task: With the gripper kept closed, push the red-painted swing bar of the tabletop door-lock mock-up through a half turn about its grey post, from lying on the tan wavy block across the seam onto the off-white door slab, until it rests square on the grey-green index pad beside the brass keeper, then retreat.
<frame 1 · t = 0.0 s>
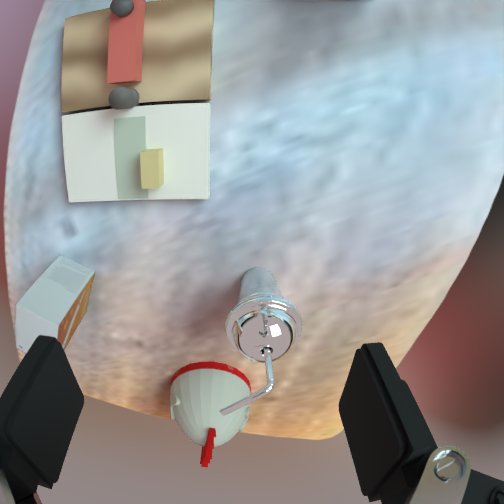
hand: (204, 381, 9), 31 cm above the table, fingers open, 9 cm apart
small box: (74, 283, 43), on the table
drinking straw: (256, 281, 44), on the table
kitchen timer: (210, 387, 53), on the table
tan wavy block: (134, 98, 33), on the table
swing bar: (124, 38, 26), point 4 cm above the table, hinge at 0.0°
door: (129, 154, 34), on the table
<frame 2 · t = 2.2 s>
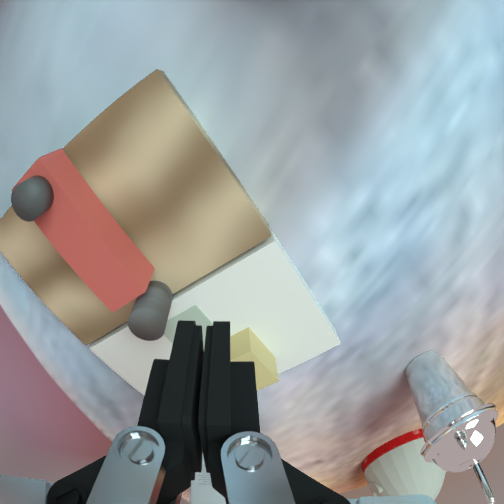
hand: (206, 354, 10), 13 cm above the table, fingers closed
small box: (223, 454, 37), on the table
drinking straw: (420, 365, 31), on the table
kitchen timer: (401, 450, 41), on the table
tan wavy block: (160, 281, 24), on the table
swing bar: (78, 235, 17), point 4 cm above the table, hinge at 0.0°
door: (210, 355, 24), on the table
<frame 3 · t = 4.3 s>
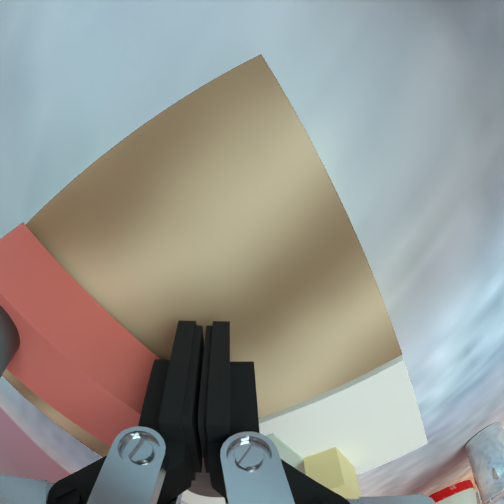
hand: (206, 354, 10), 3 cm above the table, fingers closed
drinking straw: (480, 436, 23), on the table
kitchen timer: (431, 501, 33), on the table
tan wavy block: (216, 396, 15), on the table
swing bar: (81, 383, 9), point 4 cm above the table, hinge at 6.7°, touching gripper
door: (278, 475, 16), on the table
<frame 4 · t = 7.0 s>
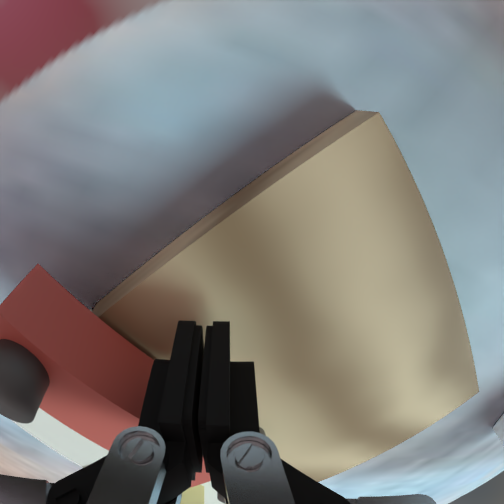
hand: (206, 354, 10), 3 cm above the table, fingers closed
tan wavy block: (239, 409, 16), on the table
swing bar: (111, 412, 9), point 4 cm above the table, hinge at 95.0°, touching gripper
door: (153, 472, 15), on the table
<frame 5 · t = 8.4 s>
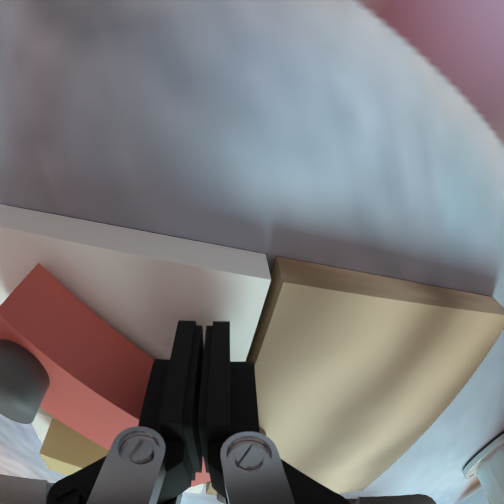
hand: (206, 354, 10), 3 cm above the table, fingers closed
tan wavy block: (240, 408, 16), on the table
swing bar: (111, 412, 9), point 4 cm above the table, hinge at 144.2°, touching gripper
door: (107, 421, 13), on the table
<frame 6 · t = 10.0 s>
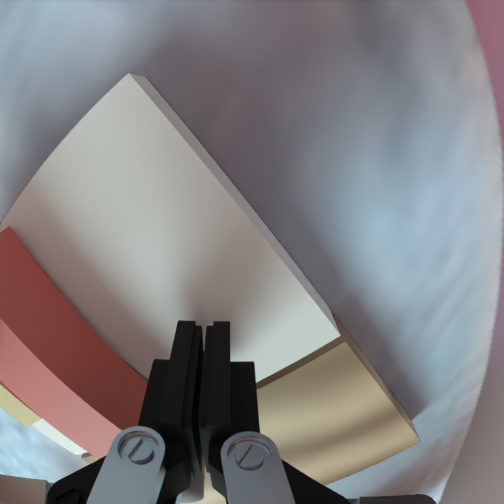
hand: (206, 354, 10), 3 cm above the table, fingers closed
tan wavy block: (184, 405, 15), on the table
swing bar: (55, 385, 9), point 4 cm above the table, hinge at 174.1°
door: (70, 359, 11), on the table
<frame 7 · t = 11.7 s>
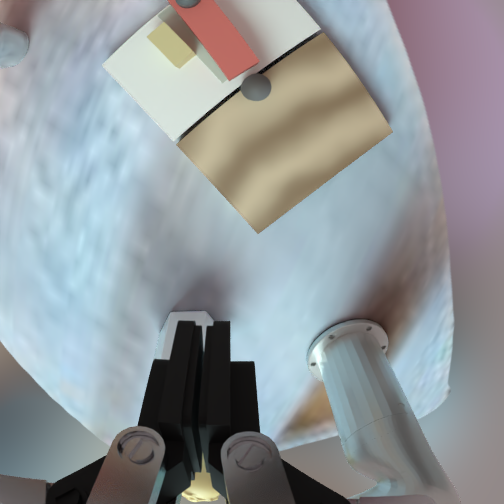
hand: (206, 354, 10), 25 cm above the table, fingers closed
drinking straw: (16, 46, 23), on the table
jar: (191, 332, 42), on the table
tan wavy block: (252, 88, 29), on the table
pale yellow ball: (200, 457, 59), on the table
swing bar: (211, 27, 22), point 4 cm above the table, hinge at 174.1°
door: (208, 38, 24), on the table
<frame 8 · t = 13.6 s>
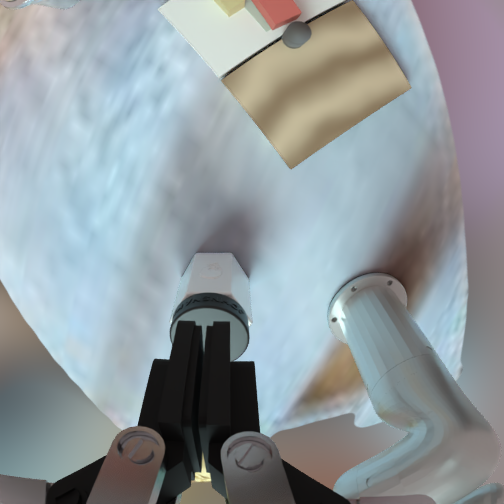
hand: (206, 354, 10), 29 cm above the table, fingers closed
jar: (214, 278, 43), on the table
tan wavy block: (290, 41, 30), on the table
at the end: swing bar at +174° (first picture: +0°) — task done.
